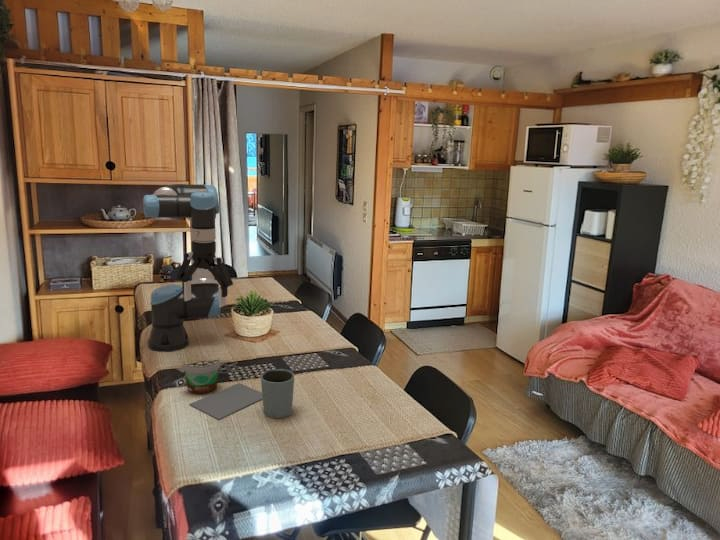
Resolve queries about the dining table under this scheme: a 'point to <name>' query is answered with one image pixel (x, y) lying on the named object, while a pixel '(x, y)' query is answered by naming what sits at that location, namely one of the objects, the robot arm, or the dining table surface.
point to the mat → (228, 401)
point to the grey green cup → (277, 392)
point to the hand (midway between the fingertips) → (205, 303)
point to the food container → (202, 376)
